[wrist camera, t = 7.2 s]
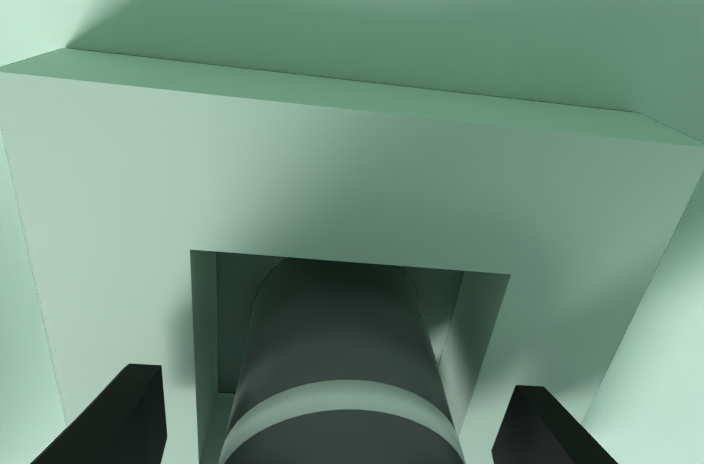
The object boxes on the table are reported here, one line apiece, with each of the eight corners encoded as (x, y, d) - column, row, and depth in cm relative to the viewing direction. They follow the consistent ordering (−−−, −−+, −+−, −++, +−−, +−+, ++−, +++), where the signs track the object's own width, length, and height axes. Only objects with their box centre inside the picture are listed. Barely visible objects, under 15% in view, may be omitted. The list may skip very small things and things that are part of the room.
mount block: (638, 113, 11) (714, 148, 9) (497, 470, 16) (522, 545, 14) (62, 47, 10) (-12, 70, 7) (123, 456, 15) (90, 535, 13)
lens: (435, 252, 12) (509, 442, 7) (404, 383, 14) (445, 600, 9) (255, 236, 12) (205, 427, 7) (250, 373, 14) (208, 596, 9)
